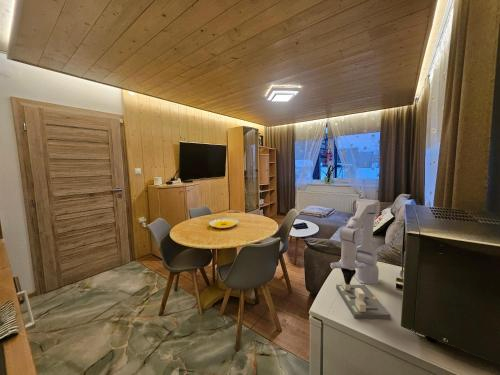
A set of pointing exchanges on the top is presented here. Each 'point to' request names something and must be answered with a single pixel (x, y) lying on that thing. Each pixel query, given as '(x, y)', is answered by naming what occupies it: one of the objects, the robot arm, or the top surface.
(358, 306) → the block
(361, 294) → the breaker
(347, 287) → the block
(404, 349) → the top surface
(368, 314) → the breaker panel
